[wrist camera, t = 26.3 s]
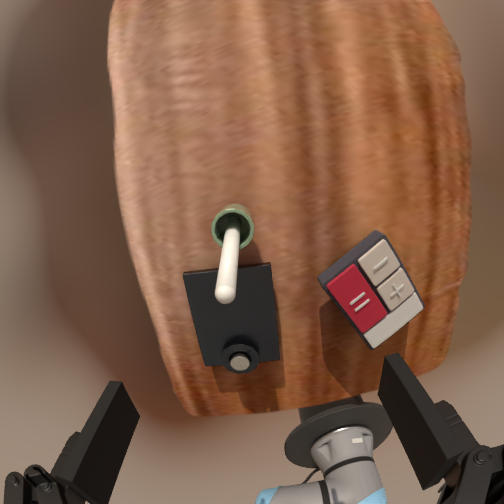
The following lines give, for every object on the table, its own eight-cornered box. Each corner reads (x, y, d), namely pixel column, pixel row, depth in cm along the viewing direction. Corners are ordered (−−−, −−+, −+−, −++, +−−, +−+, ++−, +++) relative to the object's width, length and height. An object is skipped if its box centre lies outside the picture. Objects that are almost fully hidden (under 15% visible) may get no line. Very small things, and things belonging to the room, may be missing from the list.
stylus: (242, 226, 36) (236, 307, 24) (228, 227, 36) (216, 308, 24) (240, 213, 35) (233, 291, 23) (226, 215, 35) (211, 293, 23)
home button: (250, 364, 40) (250, 369, 39) (232, 365, 41) (232, 371, 39) (248, 350, 40) (248, 355, 38) (229, 351, 40) (228, 357, 38)
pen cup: (255, 237, 37) (256, 247, 32) (219, 242, 37) (214, 252, 32) (251, 201, 36) (251, 206, 31) (213, 206, 36) (208, 212, 31)
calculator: (386, 234, 33) (428, 309, 36) (374, 227, 37) (415, 298, 40) (321, 287, 35) (373, 354, 38) (315, 275, 39) (364, 339, 42)
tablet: (279, 359, 43) (281, 369, 40) (207, 366, 43) (205, 375, 41) (270, 261, 38) (271, 268, 36) (184, 271, 38) (180, 278, 36)
